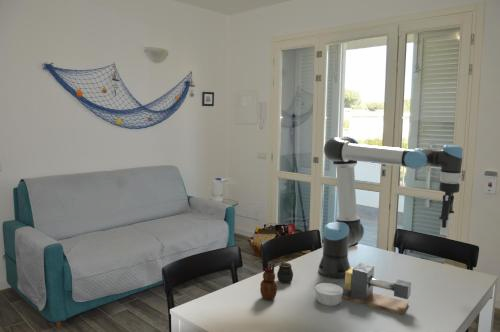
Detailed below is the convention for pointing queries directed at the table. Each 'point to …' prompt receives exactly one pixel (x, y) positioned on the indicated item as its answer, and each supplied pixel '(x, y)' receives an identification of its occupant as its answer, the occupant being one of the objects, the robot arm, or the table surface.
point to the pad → (347, 292)
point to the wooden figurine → (268, 284)
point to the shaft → (393, 287)
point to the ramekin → (328, 294)
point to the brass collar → (348, 279)
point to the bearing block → (362, 282)
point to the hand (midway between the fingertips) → (445, 231)
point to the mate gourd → (285, 273)
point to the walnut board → (382, 303)
